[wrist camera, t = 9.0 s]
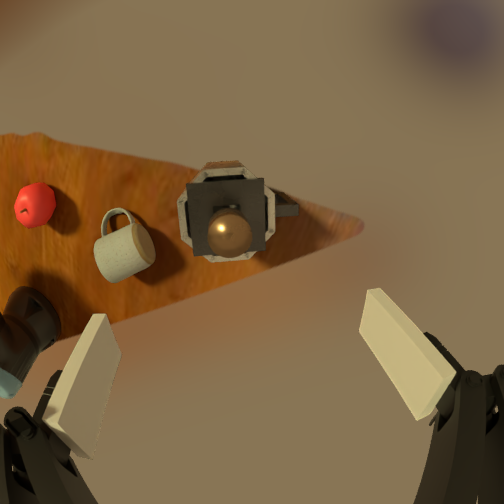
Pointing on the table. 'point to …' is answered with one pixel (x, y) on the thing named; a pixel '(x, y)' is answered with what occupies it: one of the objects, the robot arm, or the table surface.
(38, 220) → the apple
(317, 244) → the table surface
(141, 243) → the ceramic mug
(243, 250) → the plunger
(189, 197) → the carafe
